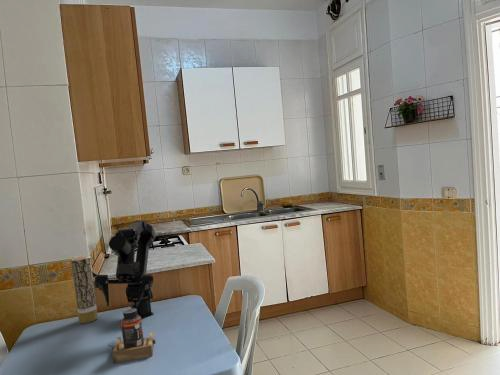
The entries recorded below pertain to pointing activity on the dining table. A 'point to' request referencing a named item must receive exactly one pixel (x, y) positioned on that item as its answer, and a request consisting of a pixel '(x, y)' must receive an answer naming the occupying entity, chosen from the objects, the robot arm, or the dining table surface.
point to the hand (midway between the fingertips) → (122, 306)
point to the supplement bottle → (132, 329)
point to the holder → (133, 350)
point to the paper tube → (84, 288)
